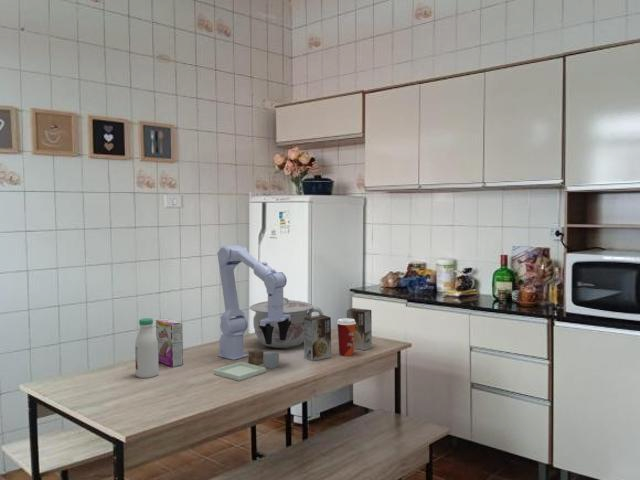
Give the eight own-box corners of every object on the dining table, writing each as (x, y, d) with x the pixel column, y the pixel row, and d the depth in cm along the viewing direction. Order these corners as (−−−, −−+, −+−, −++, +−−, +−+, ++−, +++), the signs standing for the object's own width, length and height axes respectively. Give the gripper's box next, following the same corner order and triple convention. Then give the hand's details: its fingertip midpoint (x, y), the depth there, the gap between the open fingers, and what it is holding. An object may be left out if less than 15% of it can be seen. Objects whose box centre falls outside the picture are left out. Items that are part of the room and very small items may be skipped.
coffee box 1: (322, 354, 228) (322, 314, 227) (331, 357, 223) (331, 316, 222) (303, 357, 223) (303, 316, 222) (312, 361, 218) (312, 319, 217)
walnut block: (248, 364, 214) (248, 351, 214) (256, 361, 217) (255, 348, 217) (256, 365, 212) (255, 352, 211) (263, 363, 215) (263, 350, 215)
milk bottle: (163, 373, 203) (161, 317, 202) (149, 379, 196) (148, 321, 194) (144, 371, 205) (143, 316, 204) (131, 377, 198) (129, 320, 197)
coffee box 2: (372, 347, 238) (372, 309, 237) (365, 350, 233) (365, 312, 232) (353, 344, 243) (353, 307, 243) (346, 347, 238) (345, 309, 237)
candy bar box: (155, 362, 217) (155, 319, 216) (167, 359, 221) (166, 318, 220) (172, 367, 209) (171, 323, 209) (183, 365, 213) (182, 321, 212)
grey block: (263, 366, 211) (263, 353, 210) (271, 364, 214) (271, 351, 213) (271, 368, 208) (271, 355, 208) (278, 366, 211) (278, 352, 211)
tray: (213, 374, 201) (213, 369, 201) (240, 366, 211) (240, 361, 211) (239, 381, 193) (239, 376, 193) (265, 372, 203) (265, 367, 203)
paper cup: (354, 357, 223) (354, 322, 222) (335, 356, 225) (335, 321, 224) (357, 352, 231) (357, 318, 230) (338, 351, 232) (338, 317, 231)
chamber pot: (236, 345, 243) (235, 297, 242) (282, 334, 263) (281, 290, 262) (283, 356, 224) (282, 304, 223) (328, 344, 245) (327, 296, 244)
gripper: (269, 309, 200) (270, 347, 201) (296, 304, 212) (296, 340, 213) (255, 307, 205) (255, 344, 206) (282, 302, 216) (282, 337, 217)
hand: (275, 342), depth 209 cm, fingers open, 7 cm apart
